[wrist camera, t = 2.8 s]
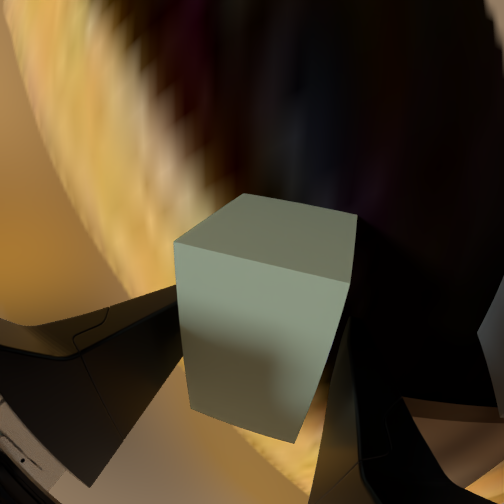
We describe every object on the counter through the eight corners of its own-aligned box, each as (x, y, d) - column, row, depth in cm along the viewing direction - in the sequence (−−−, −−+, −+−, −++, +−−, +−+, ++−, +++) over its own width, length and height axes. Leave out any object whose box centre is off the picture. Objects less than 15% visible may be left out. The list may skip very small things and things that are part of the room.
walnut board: (540, 408, 8) (544, 422, 7) (449, 487, 13) (448, 498, 12) (385, 393, 11) (384, 412, 10) (325, 475, 15) (321, 488, 14)
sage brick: (357, 213, 8) (350, 283, 5) (319, 359, 11) (294, 443, 8) (245, 192, 9) (173, 241, 6) (236, 336, 12) (190, 408, 9)
